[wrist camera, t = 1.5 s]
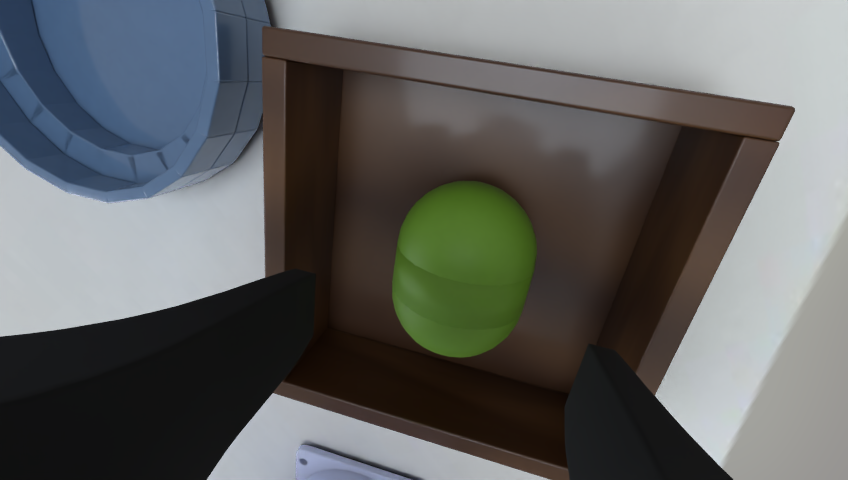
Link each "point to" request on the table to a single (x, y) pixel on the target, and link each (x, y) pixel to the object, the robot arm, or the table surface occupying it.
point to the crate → (533, 190)
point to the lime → (463, 268)
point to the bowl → (129, 91)
